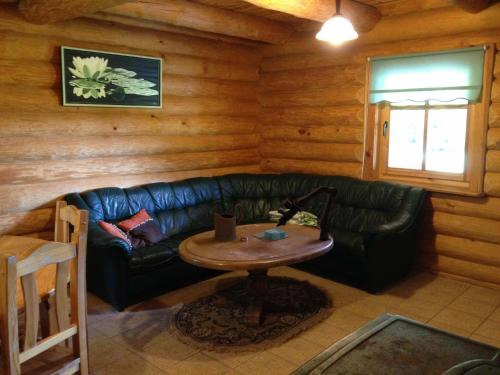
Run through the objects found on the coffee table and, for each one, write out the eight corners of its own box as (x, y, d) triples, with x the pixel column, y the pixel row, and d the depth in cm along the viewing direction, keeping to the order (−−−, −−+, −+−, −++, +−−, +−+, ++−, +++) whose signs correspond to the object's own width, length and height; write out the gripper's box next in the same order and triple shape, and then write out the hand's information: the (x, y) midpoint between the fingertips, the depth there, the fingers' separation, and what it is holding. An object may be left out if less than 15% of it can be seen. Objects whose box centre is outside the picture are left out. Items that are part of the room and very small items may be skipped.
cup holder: (209, 237, 331) (208, 204, 327) (237, 232, 342) (237, 201, 338) (219, 243, 315) (218, 209, 311) (248, 238, 326) (248, 206, 322)
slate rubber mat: (274, 230, 348) (274, 230, 347) (290, 236, 331) (290, 235, 331) (251, 235, 335) (251, 234, 335) (267, 241, 319) (267, 241, 319)
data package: (274, 234, 319) (263, 231, 328) (274, 240, 320) (263, 236, 329) (286, 231, 327) (275, 228, 336) (286, 237, 328) (275, 234, 337)
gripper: (286, 201, 325) (272, 215, 330) (281, 207, 307) (265, 221, 312) (297, 212, 324) (282, 226, 329) (292, 218, 306) (276, 233, 311)
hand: (276, 226), depth 320 cm, fingers closed
